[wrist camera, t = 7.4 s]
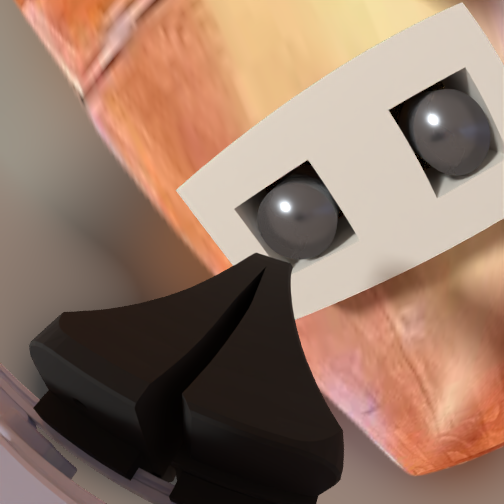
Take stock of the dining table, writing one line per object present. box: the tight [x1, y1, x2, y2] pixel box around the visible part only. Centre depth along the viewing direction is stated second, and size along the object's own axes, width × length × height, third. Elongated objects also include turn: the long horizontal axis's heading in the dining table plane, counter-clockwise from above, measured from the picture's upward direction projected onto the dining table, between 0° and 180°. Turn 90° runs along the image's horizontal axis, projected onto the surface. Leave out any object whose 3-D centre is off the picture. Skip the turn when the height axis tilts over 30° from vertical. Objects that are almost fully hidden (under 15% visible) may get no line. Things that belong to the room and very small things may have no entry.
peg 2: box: [399, 89, 490, 175], centre depth 12 cm, size 4×4×4 cm
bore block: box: [176, 2, 504, 320], centre depth 15 cm, size 10×18×5 cm, turn 128°
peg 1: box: [257, 166, 340, 259], centre depth 17 cm, size 4×4×4 cm
